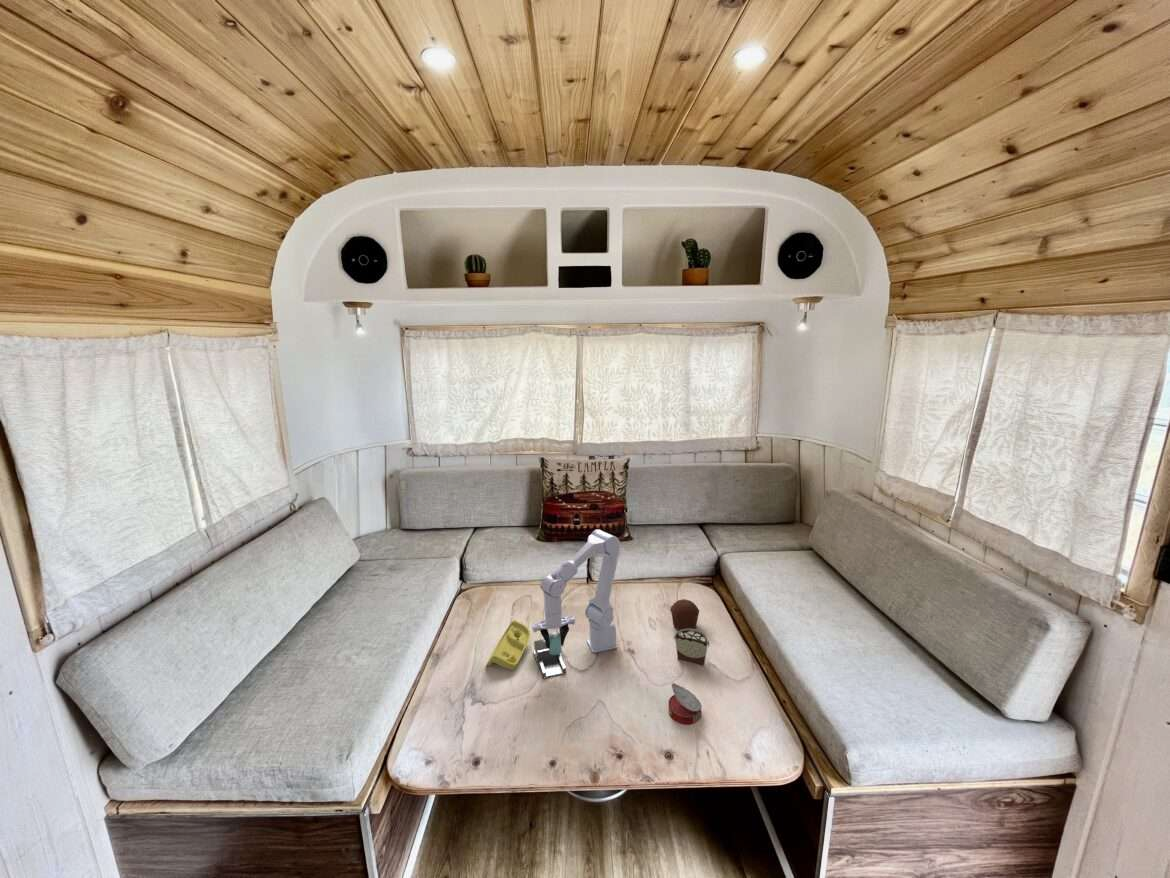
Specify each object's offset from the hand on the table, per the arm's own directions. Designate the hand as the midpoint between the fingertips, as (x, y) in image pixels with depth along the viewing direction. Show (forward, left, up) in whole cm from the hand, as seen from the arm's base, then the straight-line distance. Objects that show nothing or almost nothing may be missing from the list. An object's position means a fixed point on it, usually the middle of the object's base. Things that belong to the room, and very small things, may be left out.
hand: (554, 645), depth 168 cm
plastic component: (+14, -14, -9) cm, 21 cm away
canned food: (-33, +32, -9) cm, 47 cm away
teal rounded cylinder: (0, 0, -2) cm, 2 cm away
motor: (+1, -4, -9) cm, 10 cm away
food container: (-48, +10, -9) cm, 50 cm away
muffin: (-55, -9, -9) cm, 56 cm away
